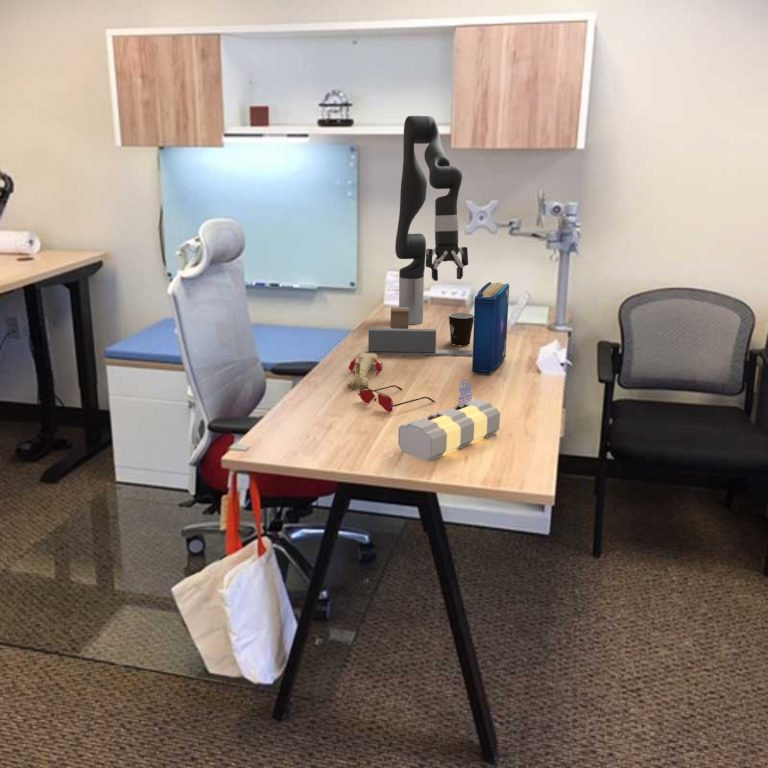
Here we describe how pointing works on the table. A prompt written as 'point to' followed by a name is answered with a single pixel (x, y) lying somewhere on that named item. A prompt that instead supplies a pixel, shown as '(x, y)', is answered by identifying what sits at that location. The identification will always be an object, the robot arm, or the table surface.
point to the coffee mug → (461, 328)
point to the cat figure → (363, 369)
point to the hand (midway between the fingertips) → (447, 279)
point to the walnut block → (399, 317)
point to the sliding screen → (402, 340)
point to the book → (490, 327)
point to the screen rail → (438, 352)
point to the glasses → (382, 398)
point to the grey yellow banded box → (449, 428)
